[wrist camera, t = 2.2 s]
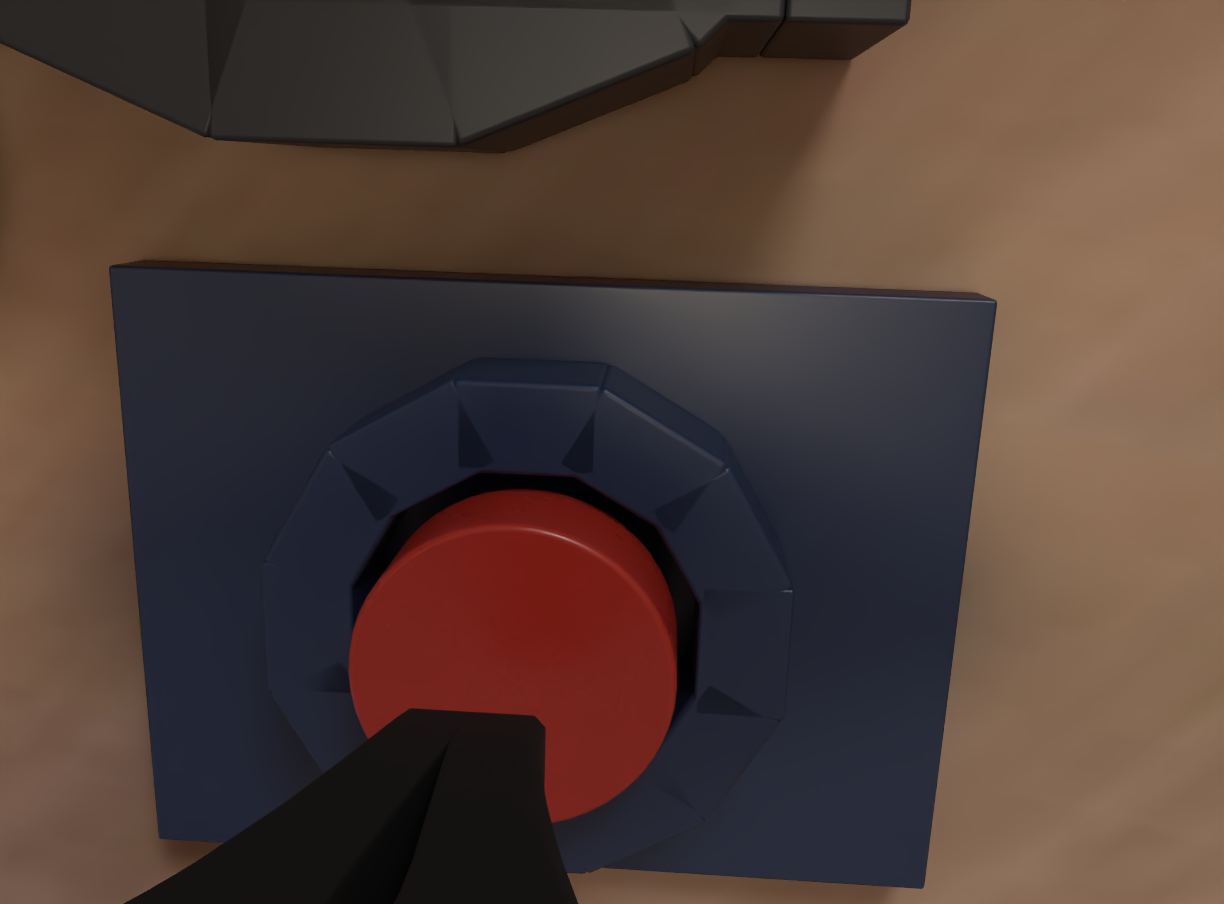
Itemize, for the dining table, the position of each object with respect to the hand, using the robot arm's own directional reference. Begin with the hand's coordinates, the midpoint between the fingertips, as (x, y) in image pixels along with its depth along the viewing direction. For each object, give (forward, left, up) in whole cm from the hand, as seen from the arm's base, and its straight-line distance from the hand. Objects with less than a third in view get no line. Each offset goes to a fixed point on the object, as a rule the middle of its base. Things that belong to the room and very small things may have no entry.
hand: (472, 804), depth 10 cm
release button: (0, 0, -4) cm, 4 cm away
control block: (0, 0, -6) cm, 6 cm away
